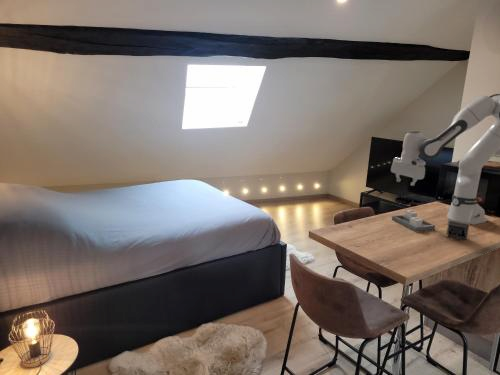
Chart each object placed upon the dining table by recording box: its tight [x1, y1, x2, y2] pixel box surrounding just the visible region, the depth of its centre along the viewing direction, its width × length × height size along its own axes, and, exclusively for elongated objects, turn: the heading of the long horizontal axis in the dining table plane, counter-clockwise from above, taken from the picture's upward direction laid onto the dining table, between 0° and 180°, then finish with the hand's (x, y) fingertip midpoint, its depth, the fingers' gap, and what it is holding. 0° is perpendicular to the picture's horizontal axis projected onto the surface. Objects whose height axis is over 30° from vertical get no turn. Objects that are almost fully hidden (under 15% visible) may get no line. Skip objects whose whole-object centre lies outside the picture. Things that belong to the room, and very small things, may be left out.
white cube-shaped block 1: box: [404, 209, 418, 218], centre depth 206 cm, size 4×5×5 cm
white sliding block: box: [409, 216, 424, 227], centre depth 194 cm, size 4×5×5 cm
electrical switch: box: [445, 219, 471, 241], centre depth 182 cm, size 9×5×9 cm, turn 57°
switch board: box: [391, 214, 436, 233], centre depth 200 cm, size 12×19×3 cm, turn 16°
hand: (405, 183), depth 209 cm, fingers open, 8 cm apart
